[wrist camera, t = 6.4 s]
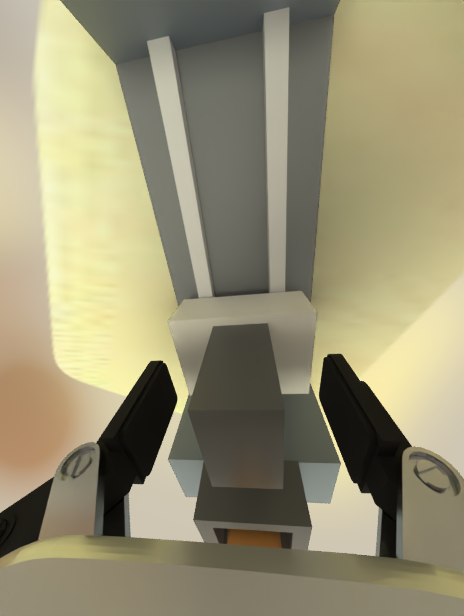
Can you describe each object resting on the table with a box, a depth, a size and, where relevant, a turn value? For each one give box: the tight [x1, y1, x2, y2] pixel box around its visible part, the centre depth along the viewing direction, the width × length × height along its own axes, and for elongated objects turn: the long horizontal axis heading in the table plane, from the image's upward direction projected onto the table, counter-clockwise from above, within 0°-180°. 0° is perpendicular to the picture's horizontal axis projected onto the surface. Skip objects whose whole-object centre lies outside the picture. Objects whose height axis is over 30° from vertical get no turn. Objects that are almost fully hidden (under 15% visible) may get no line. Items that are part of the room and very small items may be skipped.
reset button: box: [227, 529, 282, 548], centre depth 9 cm, size 3×3×3 cm
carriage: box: [168, 291, 317, 489], centre depth 10 cm, size 6×8×8 cm
